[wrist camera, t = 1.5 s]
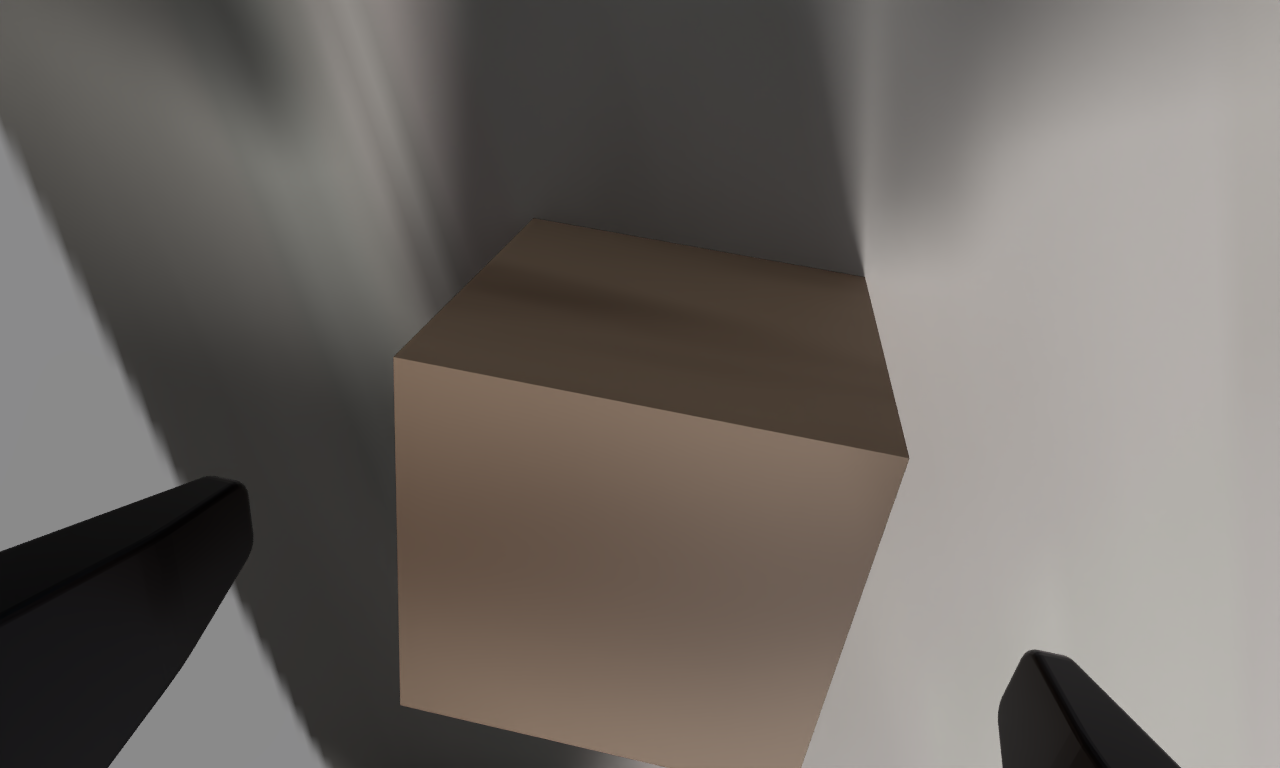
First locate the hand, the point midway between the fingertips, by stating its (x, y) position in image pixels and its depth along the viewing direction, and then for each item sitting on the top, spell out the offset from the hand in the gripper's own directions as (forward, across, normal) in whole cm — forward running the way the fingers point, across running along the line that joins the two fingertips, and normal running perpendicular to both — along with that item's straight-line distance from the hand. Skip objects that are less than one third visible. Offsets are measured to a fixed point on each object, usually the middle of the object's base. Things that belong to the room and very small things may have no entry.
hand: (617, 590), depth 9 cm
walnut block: (+5, 0, 0) cm, 5 cm away
